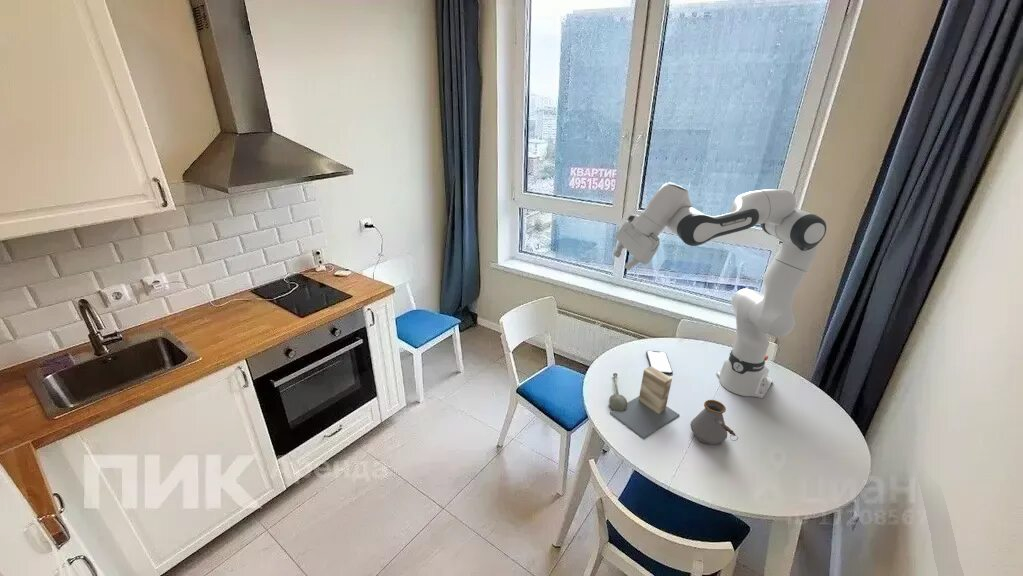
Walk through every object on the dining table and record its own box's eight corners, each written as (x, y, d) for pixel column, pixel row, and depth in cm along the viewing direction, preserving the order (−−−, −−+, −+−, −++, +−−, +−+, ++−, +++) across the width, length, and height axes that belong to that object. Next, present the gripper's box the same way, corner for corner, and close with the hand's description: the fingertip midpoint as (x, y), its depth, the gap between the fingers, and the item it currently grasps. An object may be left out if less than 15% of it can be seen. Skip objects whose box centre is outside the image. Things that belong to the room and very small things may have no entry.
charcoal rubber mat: (645, 393, 159) (645, 392, 159) (679, 415, 148) (679, 414, 148) (609, 413, 149) (610, 412, 149) (643, 438, 138) (643, 437, 137)
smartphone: (673, 376, 171) (665, 354, 185) (673, 373, 170) (665, 351, 185) (651, 374, 172) (645, 352, 186) (651, 371, 171) (645, 349, 186)
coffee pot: (684, 422, 145) (693, 388, 139) (718, 425, 144) (728, 391, 138) (704, 471, 126) (715, 434, 120) (743, 475, 125) (756, 437, 119)
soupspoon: (608, 411, 150) (627, 414, 149) (610, 404, 149) (628, 406, 148) (607, 375, 170) (623, 377, 169) (608, 368, 168) (624, 370, 167)
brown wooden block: (645, 396, 157) (651, 366, 151) (665, 409, 150) (672, 378, 145) (638, 400, 155) (644, 369, 149) (658, 413, 148) (665, 382, 142)
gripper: (669, 244, 126) (641, 280, 131) (640, 221, 143) (616, 253, 148) (654, 236, 124) (626, 272, 128) (627, 213, 141) (603, 246, 146)
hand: (621, 262), depth 139 cm, fingers open, 8 cm apart
